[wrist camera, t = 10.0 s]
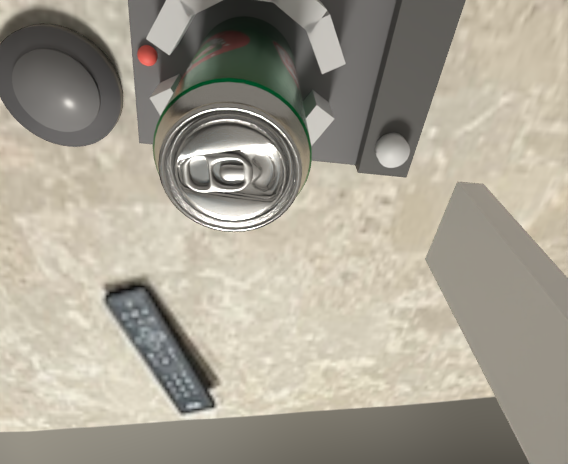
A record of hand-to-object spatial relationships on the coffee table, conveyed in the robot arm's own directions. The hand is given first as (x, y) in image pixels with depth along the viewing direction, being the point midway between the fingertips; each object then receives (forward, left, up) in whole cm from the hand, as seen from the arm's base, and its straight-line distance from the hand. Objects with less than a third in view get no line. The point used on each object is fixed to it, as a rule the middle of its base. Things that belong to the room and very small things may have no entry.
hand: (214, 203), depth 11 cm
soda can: (0, 0, -14) cm, 14 cm away
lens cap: (-12, -4, -19) cm, 22 cm away
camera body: (+2, 0, -19) cm, 19 cm away
